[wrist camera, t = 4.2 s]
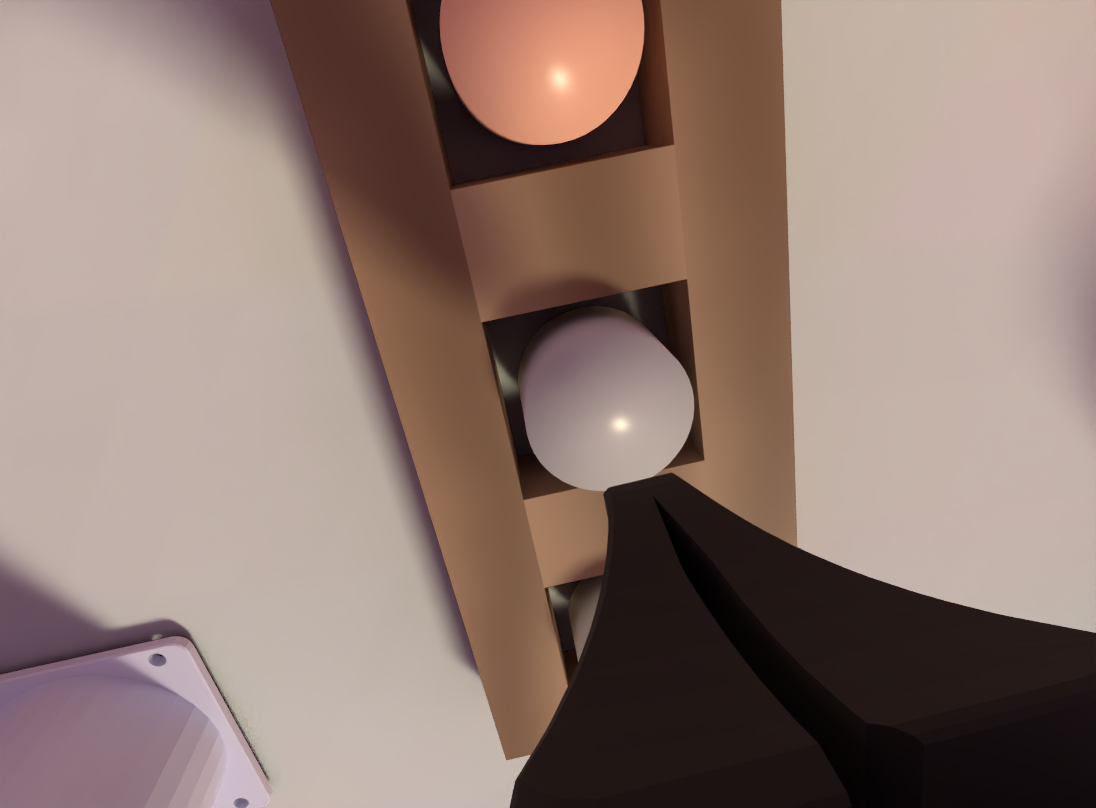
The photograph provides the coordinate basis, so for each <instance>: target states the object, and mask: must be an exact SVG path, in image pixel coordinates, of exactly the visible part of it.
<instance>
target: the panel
mask: <svg viewBox="0 0 1096 808" xmlns="http://www.w3.org/2000/svg"><path fill="white" fill-rule="evenodd" d="M270 2H271V5H272V9H273V12H274V15H275V18H276V21H277V25H278V28H279V31H280V34H281V38H282V41H283V44H284V47H285V50H286V54H287V57H288V60H289V63H290V66H291V70H292V73H293V76H294V79H295V82H296V86H297V89H298V92H299V95H300V99H301V102H302V105H303V108H304V111H305V115H306V118H307V121H308V124H309V127H310V131H311V134H312V137H313V140H314V144H315V147H316V150H317V153H318V156H319V160H320V163H321V166H322V169H323V172H324V176H325V179H326V182H327V185H328V189H329V192H330V195H331V198H332V201H333V205H334V208H335V211H336V214H337V217H338V221H339V224H340V227H341V230H342V234H343V237H344V240H345V243H346V246H347V250H348V253H349V256H350V259H351V262H352V266H353V269H354V272H355V275H356V278H357V282H358V285H359V288H360V291H361V295H362V298H363V301H364V304H365V307H366V311H367V314H368V317H369V320H370V323H371V327H372V330H373V333H374V336H375V340H376V343H377V346H378V349H379V352H380V356H381V359H382V362H383V365H384V368H385V372H386V375H387V378H388V381H389V385H390V388H391V391H392V394H393V397H394V401H395V404H396V407H397V410H398V413H399V417H400V420H401V423H402V426H403V430H404V433H405V436H406V439H407V442H408V446H409V449H410V452H411V455H412V458H413V462H414V465H415V468H416V471H417V474H418V478H419V481H420V484H421V487H422V491H423V494H424V497H425V500H426V503H427V507H428V510H429V513H430V516H431V519H432V523H433V526H434V529H435V532H436V536H437V539H438V542H439V545H440V548H441V552H442V555H443V558H444V561H445V564H446V568H447V571H448V574H449V577H450V581H451V584H452V587H453V590H454V593H455V597H456V600H457V603H458V606H459V609H460V613H461V616H462V619H463V622H464V626H465V629H466V632H467V635H468V638H469V642H470V645H471V648H472V651H473V654H474V658H475V661H476V664H477V667H478V670H479V674H480V677H481V680H482V683H483V687H484V690H485V693H486V696H487V699H488V703H489V706H490V709H491V712H492V715H493V719H494V722H495V725H496V728H497V732H498V735H499V738H500V741H501V744H502V748H503V751H504V754H505V757H506V760H509V759H514V758H518V757H522V756H527V755H531V754H532V753H533V751H534V749H535V748H536V746H537V744H538V743H539V741H540V739H541V738H542V736H543V734H544V733H545V731H546V729H547V727H548V725H549V724H550V722H551V720H552V718H553V716H554V714H555V712H556V710H557V708H558V706H559V703H560V701H561V699H562V697H563V695H564V693H565V691H566V689H567V687H568V685H569V683H570V681H571V678H572V676H573V674H574V671H575V669H576V667H577V664H578V658H577V653H576V649H574V650H570V651H565V652H563V650H562V645H561V641H560V637H559V632H558V628H557V624H556V620H555V615H554V611H553V607H552V602H551V598H550V594H549V590H548V587H551V586H555V585H560V584H564V583H569V582H573V581H578V580H582V579H586V578H591V577H595V576H600V575H603V573H604V567H605V561H606V554H607V541H608V517H607V512H606V506H605V501H604V496H603V494H604V492H605V491H592V490H586V489H581V488H578V487H575V486H572V485H570V484H567V483H565V482H563V481H561V480H560V479H558V478H557V477H555V476H554V475H553V474H551V473H550V472H549V471H548V470H547V469H546V468H545V467H544V466H543V465H542V464H541V463H540V461H539V460H538V458H537V457H536V455H535V454H531V455H526V456H521V457H517V453H516V448H515V444H514V440H513V435H512V431H511V427H510V423H509V418H508V414H507V410H506V405H505V401H504V397H503V393H502V388H501V384H500V380H499V375H498V371H497V367H496V363H495V358H494V354H493V350H492V346H491V341H490V337H489V333H488V328H487V324H486V321H491V320H495V319H500V318H505V317H509V316H514V315H519V314H524V313H528V312H533V311H538V310H543V309H547V308H552V307H557V306H562V305H566V304H571V303H576V302H580V301H585V300H590V299H595V298H599V297H604V296H609V295H614V294H618V293H623V292H628V291H633V290H637V289H642V288H647V287H651V286H656V285H661V287H662V296H663V304H664V313H665V322H666V331H667V340H668V349H669V352H670V353H671V354H672V355H673V356H674V357H675V358H676V359H677V360H678V361H679V363H680V364H681V366H682V367H683V368H684V370H685V372H686V374H687V376H688V378H689V380H690V383H691V386H692V390H693V396H694V416H693V421H692V425H691V429H690V432H689V434H688V437H687V439H686V441H685V443H684V445H683V447H682V448H681V450H680V451H679V452H678V454H677V455H676V457H675V458H674V459H673V460H672V461H671V462H670V463H669V464H668V465H667V466H666V467H665V468H664V469H662V470H661V471H660V472H659V473H657V474H656V475H654V476H659V475H663V474H667V473H671V472H672V473H674V474H675V475H677V476H679V477H680V478H682V479H683V480H685V481H686V482H688V483H689V484H691V485H692V486H693V487H695V488H696V489H698V490H699V491H701V492H702V493H704V494H705V495H707V496H708V497H710V498H711V499H713V500H714V501H716V502H717V503H719V504H721V505H722V506H724V507H725V508H727V509H728V510H730V511H732V512H733V513H735V514H737V515H738V516H740V517H742V518H743V519H745V520H747V521H748V522H750V523H752V524H753V525H755V526H757V527H759V528H761V529H762V530H764V531H766V532H768V533H770V534H772V535H774V536H776V537H778V538H780V539H782V540H783V541H785V542H787V543H789V544H791V545H793V546H795V547H797V523H796V489H795V456H794V422H793V388H792V354H791V321H790V287H789V253H788V219H787V185H786V152H785V118H784V84H783V50H782V16H781V0H642V7H643V13H644V44H643V50H642V55H641V60H640V64H639V67H638V70H637V75H638V84H639V93H640V102H641V110H642V119H643V128H644V137H645V145H644V146H639V147H634V148H629V149H624V150H619V151H614V152H609V153H604V154H600V155H595V156H590V157H585V158H580V159H575V160H570V161H565V162H560V163H556V164H551V165H546V166H541V167H536V168H531V169H526V170H521V171H517V172H512V173H507V174H502V175H497V176H492V177H487V178H482V179H477V180H473V181H468V182H463V183H458V184H454V183H453V179H452V174H451V170H450V166H449V161H448V157H447V153H446V149H445V144H444V140H443V136H442V131H441V127H440V123H439V119H438V114H437V110H436V106H435V101H434V97H433V93H432V89H431V84H430V80H429V76H428V71H427V67H426V63H425V59H424V54H423V50H422V46H421V42H420V37H419V33H418V29H417V24H416V20H415V16H414V12H413V7H412V3H411V0H270ZM654 476H653V477H654Z"/></svg>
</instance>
